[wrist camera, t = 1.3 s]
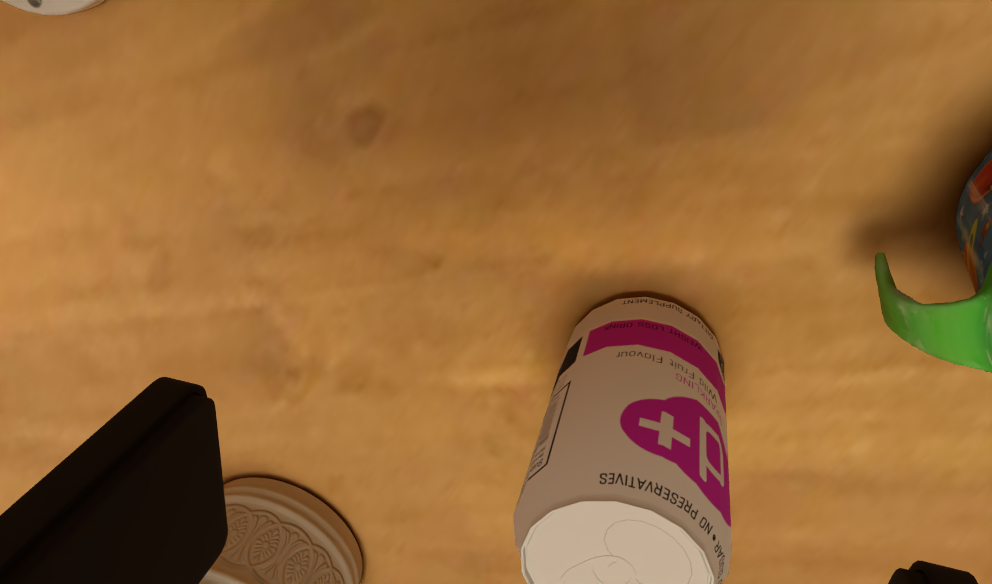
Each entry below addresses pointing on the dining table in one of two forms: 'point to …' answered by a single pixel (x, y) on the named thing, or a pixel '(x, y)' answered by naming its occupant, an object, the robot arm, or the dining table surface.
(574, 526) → the supplement can
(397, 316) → the dining table surface
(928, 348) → the snack cup
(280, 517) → the jar
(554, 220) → the dining table surface
